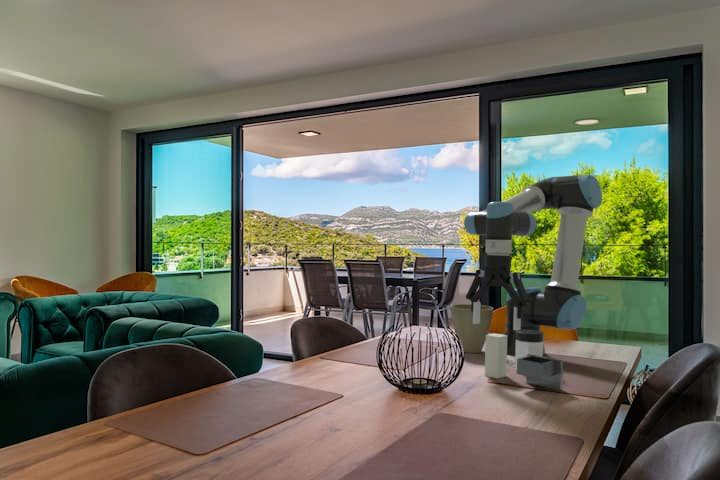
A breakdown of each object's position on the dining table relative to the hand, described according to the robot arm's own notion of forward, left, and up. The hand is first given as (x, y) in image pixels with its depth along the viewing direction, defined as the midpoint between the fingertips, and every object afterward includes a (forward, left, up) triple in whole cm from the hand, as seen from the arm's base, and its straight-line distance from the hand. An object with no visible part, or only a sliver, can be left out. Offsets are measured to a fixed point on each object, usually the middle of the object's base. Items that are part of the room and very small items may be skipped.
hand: (496, 326), depth 161 cm
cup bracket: (+4, +15, -15) cm, 21 cm away
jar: (-14, +3, -15) cm, 21 cm away
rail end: (0, 0, -15) cm, 15 cm away
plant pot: (-24, -25, -15) cm, 38 cm away
